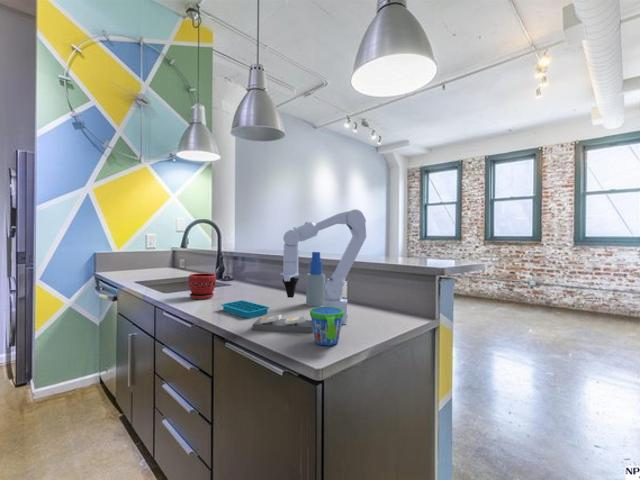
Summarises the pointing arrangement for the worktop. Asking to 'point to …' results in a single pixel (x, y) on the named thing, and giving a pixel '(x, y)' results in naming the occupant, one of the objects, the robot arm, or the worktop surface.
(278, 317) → the outlet rocker
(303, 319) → the rocker switch
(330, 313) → the snack cup
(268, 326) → the power strip
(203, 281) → the plant pot
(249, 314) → the ice cube tray
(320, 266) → the spray bottle
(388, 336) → the worktop surface
